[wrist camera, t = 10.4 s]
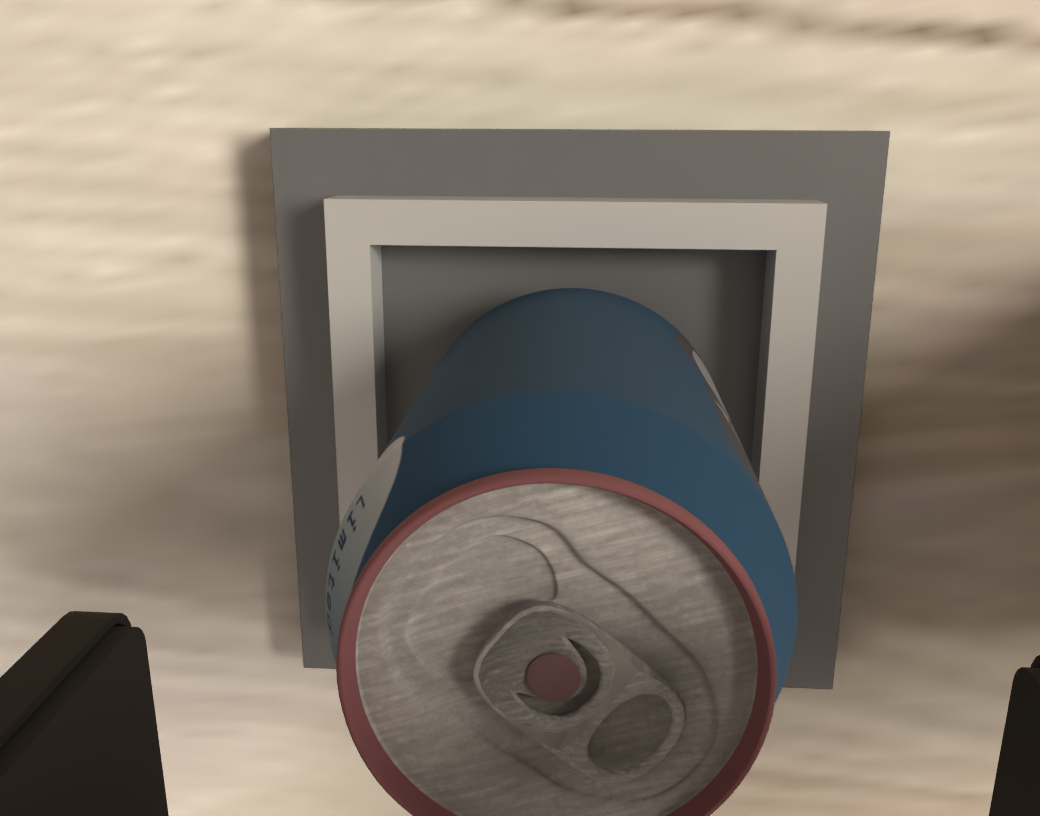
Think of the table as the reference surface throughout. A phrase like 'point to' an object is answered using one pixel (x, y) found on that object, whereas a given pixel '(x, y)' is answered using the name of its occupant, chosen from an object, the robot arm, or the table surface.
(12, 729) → the robot arm
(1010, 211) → the table surface
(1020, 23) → the table surface
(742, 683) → the soda can
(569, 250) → the holder plate
